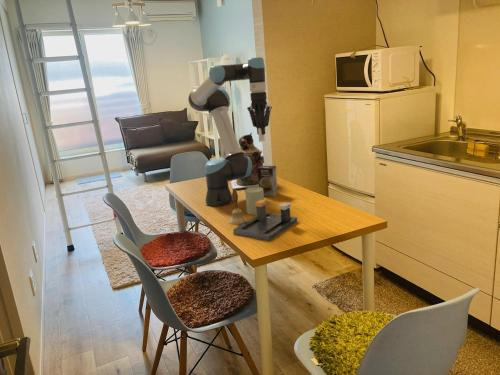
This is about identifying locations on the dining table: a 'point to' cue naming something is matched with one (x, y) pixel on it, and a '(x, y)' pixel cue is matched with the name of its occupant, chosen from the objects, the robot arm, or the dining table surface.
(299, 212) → the dining table surface
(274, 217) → the dark grey stand
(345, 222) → the dining table surface
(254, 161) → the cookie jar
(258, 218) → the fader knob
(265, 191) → the coffee box
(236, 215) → the hand bell
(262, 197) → the can
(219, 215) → the dining table surface
